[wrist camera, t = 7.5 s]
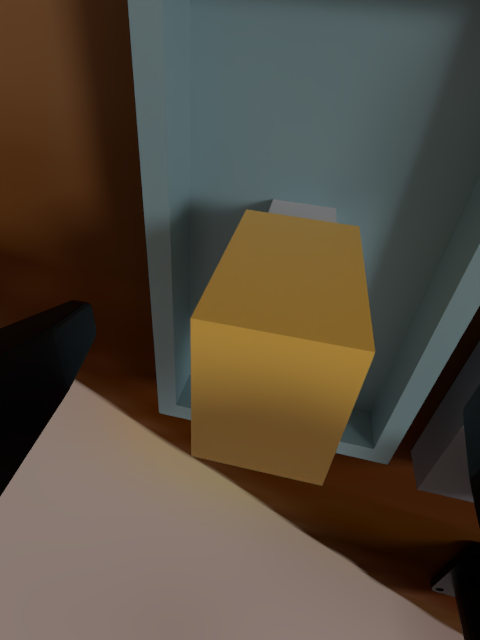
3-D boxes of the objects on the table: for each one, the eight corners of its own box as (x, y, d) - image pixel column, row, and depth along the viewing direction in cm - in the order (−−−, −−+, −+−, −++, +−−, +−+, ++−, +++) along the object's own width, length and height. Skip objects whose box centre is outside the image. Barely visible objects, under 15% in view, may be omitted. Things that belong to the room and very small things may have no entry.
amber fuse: (327, 304, 14) (322, 485, 8) (247, 290, 14) (191, 456, 9) (355, 197, 12) (374, 352, 6) (259, 184, 12) (190, 318, 6)
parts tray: (382, 417, 18) (387, 464, 16) (177, 373, 19) (159, 412, 17) (619, -63, 8) (710, -95, 6) (165, -94, 9) (117, -131, 7)
